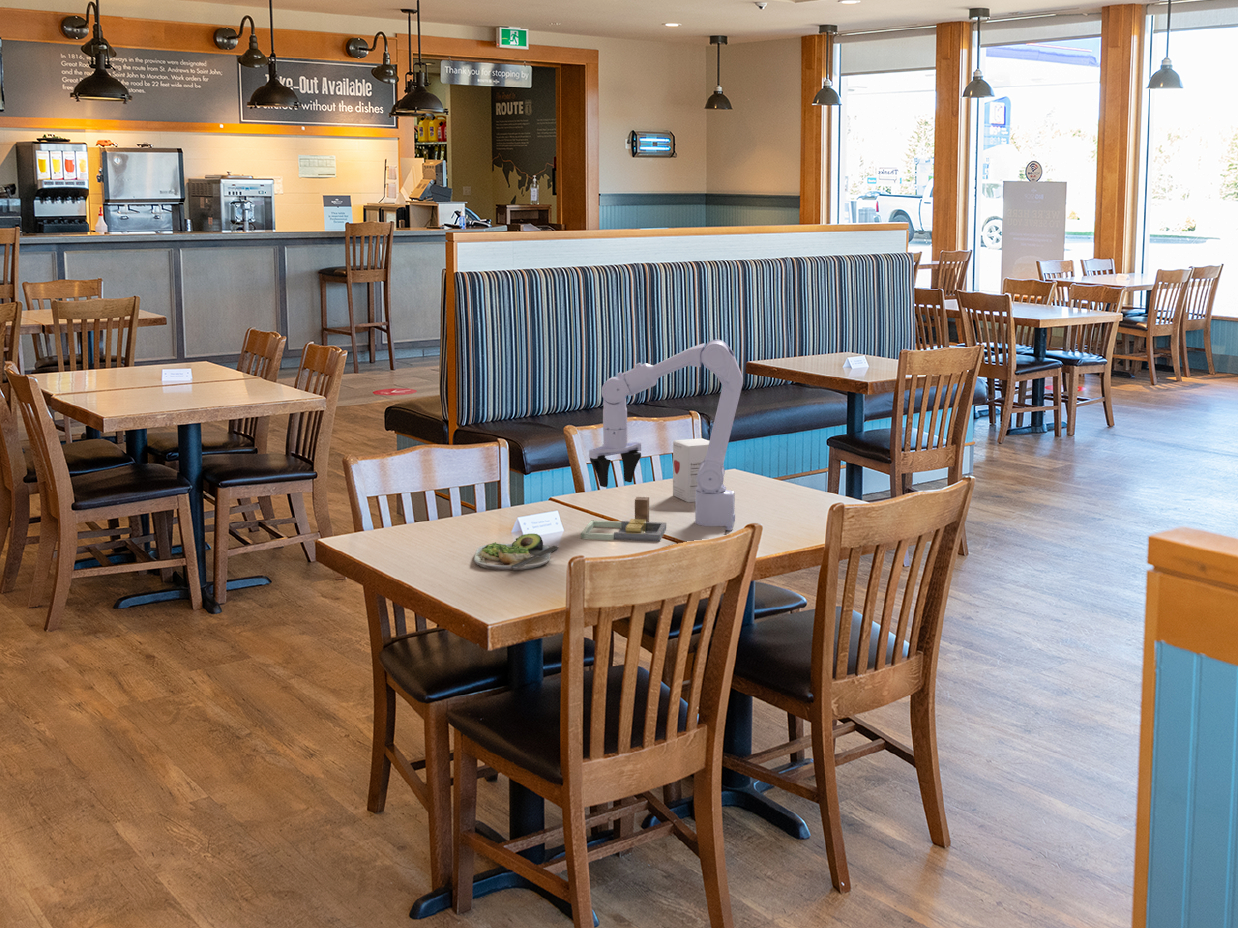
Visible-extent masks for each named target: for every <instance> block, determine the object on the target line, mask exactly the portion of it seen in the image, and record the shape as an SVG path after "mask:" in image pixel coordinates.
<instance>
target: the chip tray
mask: <svg viewBox="0 0 1238 928" xmlns="http://www.w3.org/2000/svg"><path fill="white" fill-rule="evenodd" d="M621 522H622V521H619V520H617V521H614V520H590V521H589V523H588V524H587V525H586V527H585V528H584V529H583V530H582V532H581V533H580V539H581V540H583V539H584V540H598V541H599V540H603V541H615V540H614V533H601V532H591V531H592V530H593V528H594V527H595V528H596V527H597V528H599V527H600V528H601V527H602V528H620V529H621Z"/></svg>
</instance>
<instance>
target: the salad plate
mask: <svg viewBox="0 0 1238 928" xmlns="http://www.w3.org/2000/svg"><path fill="white" fill-rule="evenodd" d="M558 548H559V547H558V546H557V545H552V546H548V545H546V544H544V542H543V538H542V537H541V536H540V534H538V533H524V534H521V535H519V536H518V537H516V538H515V540H514V541H513V542H512V543H497V542H492V543H489V544H486V545H485V544H484V545H482V546H479V547H478V548H477V549H476V551H475V554H474V556H473V561H474V564H476V565H478V566H479V567H481V568H483V569H486V570H492V571H493V570H494V571H524V570H529V569H534V568H538V567H542V566H544V565H546V564H547V563H548V562H549V561H550V559H551V553H554V552H555V551H556V550H557V549H558ZM531 555H532V556H531ZM485 560H488V561H495V562H500V563H502V564H491V563H487V562H485Z"/></svg>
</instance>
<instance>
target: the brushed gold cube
mask: <svg viewBox="0 0 1238 928" xmlns="http://www.w3.org/2000/svg"><path fill="white" fill-rule="evenodd" d="M629 521H630V522H629V524H643V533H645V531H646V519H635V518H631V519H630V520H629Z"/></svg>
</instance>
